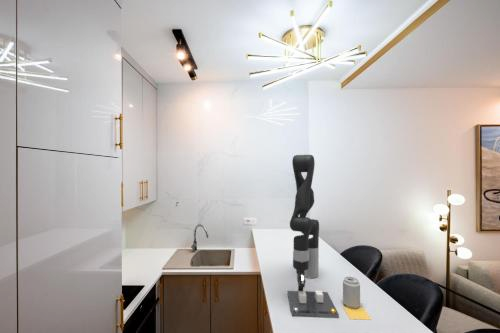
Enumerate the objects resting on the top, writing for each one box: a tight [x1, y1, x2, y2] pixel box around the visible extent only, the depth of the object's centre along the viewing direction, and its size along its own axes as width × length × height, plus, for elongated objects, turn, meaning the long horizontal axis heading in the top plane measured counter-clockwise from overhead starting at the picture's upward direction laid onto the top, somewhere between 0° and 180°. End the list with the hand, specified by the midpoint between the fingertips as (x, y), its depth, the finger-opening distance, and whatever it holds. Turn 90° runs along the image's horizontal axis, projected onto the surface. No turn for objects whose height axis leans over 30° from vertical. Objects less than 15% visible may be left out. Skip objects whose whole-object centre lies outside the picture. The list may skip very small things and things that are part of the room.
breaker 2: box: [314, 290, 323, 303], centre depth 112 cm, size 4×3×4 cm
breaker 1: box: [298, 290, 306, 303], centre depth 111 cm, size 4×3×4 cm
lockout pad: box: [342, 305, 372, 321], centre depth 105 cm, size 9×9×1 cm
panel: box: [286, 290, 340, 319], centre depth 111 cm, size 18×20×3 cm
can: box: [342, 276, 361, 308], centre depth 111 cm, size 8×8×12 cm
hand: (300, 293), depth 115 cm, fingers closed
